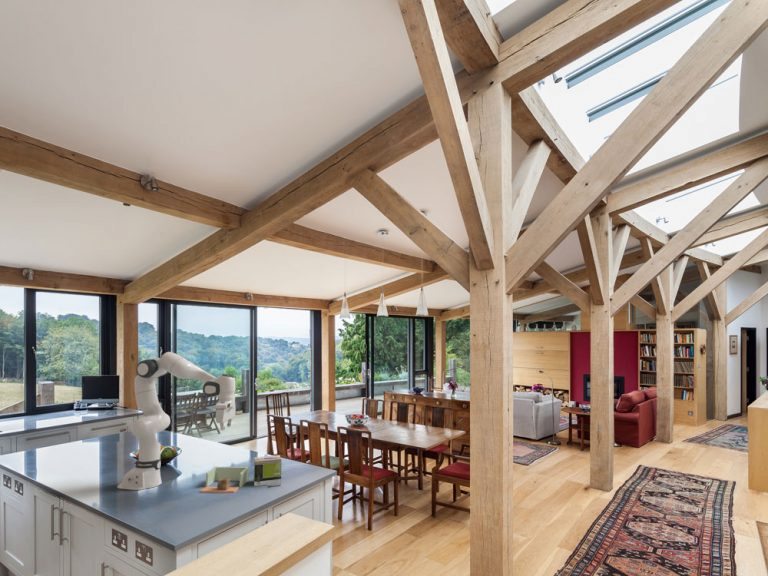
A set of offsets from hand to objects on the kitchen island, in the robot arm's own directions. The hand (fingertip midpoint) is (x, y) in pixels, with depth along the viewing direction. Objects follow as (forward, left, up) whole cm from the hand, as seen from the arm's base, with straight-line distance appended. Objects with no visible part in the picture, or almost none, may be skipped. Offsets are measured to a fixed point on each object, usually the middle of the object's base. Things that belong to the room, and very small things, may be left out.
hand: (225, 428), depth 248 cm
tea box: (+22, +9, -33) cm, 41 cm away
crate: (0, +6, -33) cm, 34 cm away
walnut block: (+2, -5, -31) cm, 32 cm away
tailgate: (0, -1, -32) cm, 32 cm away
